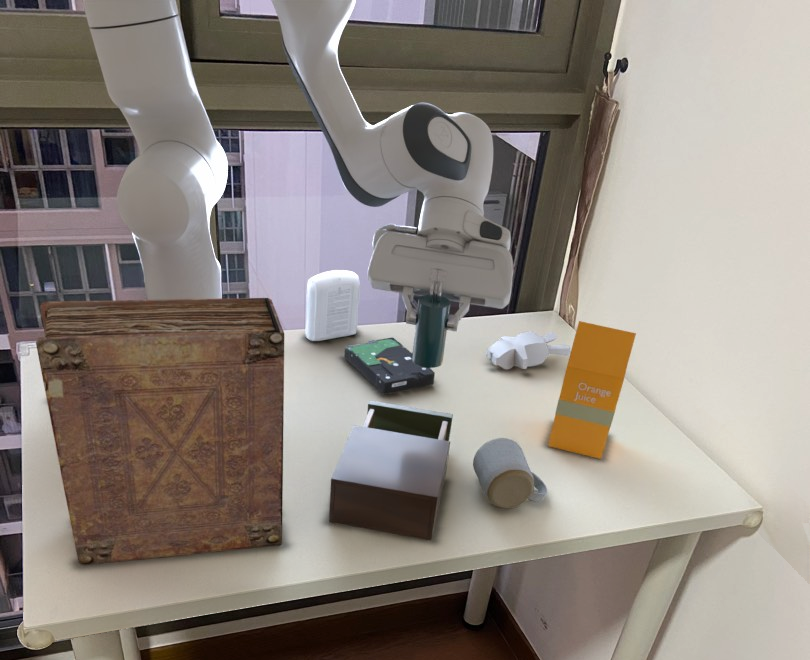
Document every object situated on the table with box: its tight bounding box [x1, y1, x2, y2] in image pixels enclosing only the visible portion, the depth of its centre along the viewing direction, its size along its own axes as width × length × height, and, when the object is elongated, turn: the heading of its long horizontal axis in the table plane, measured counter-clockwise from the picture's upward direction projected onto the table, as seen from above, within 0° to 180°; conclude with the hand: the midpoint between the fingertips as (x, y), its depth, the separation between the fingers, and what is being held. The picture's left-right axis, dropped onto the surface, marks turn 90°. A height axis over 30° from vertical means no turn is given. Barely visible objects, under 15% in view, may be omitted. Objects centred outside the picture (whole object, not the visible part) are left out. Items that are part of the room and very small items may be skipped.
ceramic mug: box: [472, 437, 548, 509], centre depth 121 cm, size 11×8×8 cm
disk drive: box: [344, 337, 436, 395], centre depth 149 cm, size 10×3×15 cm
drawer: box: [362, 400, 454, 441], centre depth 127 cm, size 18×13×6 cm
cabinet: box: [328, 424, 451, 541], centre depth 117 cm, size 14×14×7 cm
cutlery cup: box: [412, 268, 451, 369], centre depth 117 cm, size 4×4×13 cm
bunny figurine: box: [486, 330, 572, 370], centre depth 157 cm, size 10×5×15 cm
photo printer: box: [304, 269, 361, 342], centre depth 156 cm, size 10×4×12 cm, turn 123°
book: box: [35, 297, 285, 566], centre depth 100 cm, size 25×9×30 cm, turn 106°
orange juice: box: [547, 320, 637, 460], centre depth 132 cm, size 8×9×20 cm
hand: (431, 326), depth 117 cm, fingers closed on cutlery cup, 4 cm apart
